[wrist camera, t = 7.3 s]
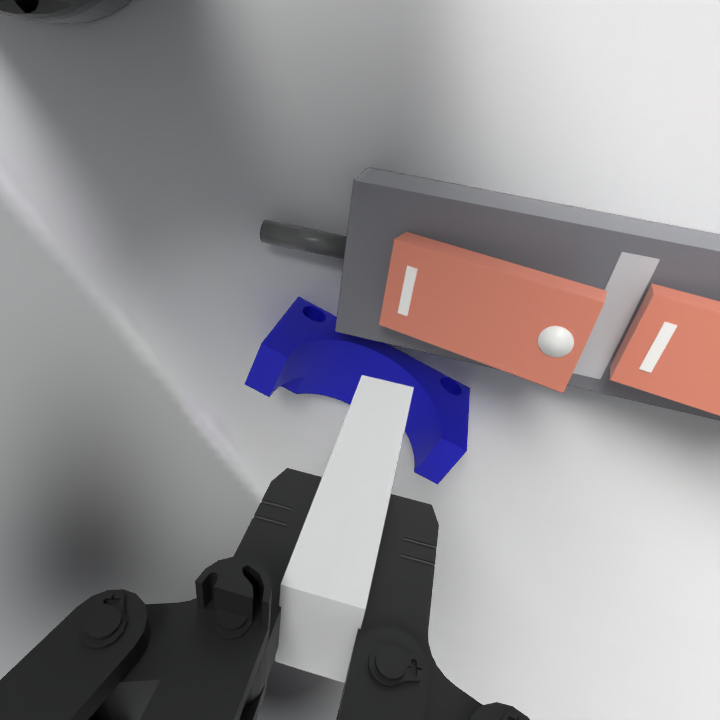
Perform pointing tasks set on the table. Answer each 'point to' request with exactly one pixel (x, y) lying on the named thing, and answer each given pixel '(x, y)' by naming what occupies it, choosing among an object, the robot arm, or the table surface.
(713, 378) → the rocker
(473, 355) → the rocker
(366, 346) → the cable clip
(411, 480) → the table surface
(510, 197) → the power strip
